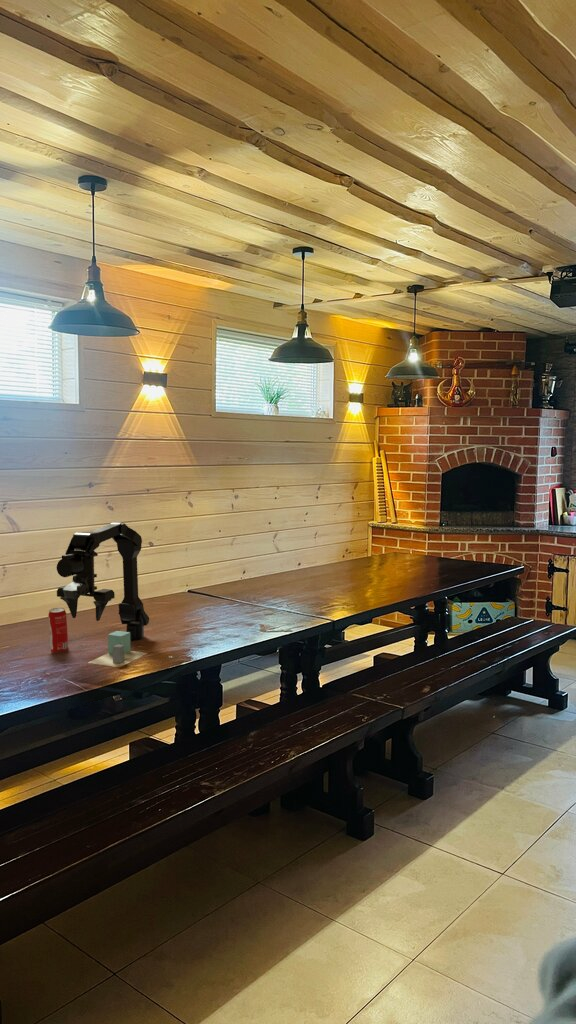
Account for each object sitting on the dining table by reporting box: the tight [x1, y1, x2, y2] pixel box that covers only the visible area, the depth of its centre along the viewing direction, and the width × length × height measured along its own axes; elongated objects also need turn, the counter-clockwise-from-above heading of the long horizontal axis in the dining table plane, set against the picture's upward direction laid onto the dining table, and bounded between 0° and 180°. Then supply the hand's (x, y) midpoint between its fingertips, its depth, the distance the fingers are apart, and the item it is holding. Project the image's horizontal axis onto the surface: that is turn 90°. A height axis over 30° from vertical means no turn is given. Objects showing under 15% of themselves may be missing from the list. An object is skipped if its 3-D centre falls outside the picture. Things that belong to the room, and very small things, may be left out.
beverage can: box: [47, 607, 69, 654], centre depth 242 cm, size 6×6×15 cm
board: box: [87, 650, 148, 668], centre depth 234 cm, size 16×12×1 cm
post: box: [113, 644, 125, 664], centre depth 229 cm, size 3×3×6 cm
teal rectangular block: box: [107, 630, 131, 654], centre depth 239 cm, size 5×5×7 cm
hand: (86, 619), depth 230 cm, fingers open, 9 cm apart
